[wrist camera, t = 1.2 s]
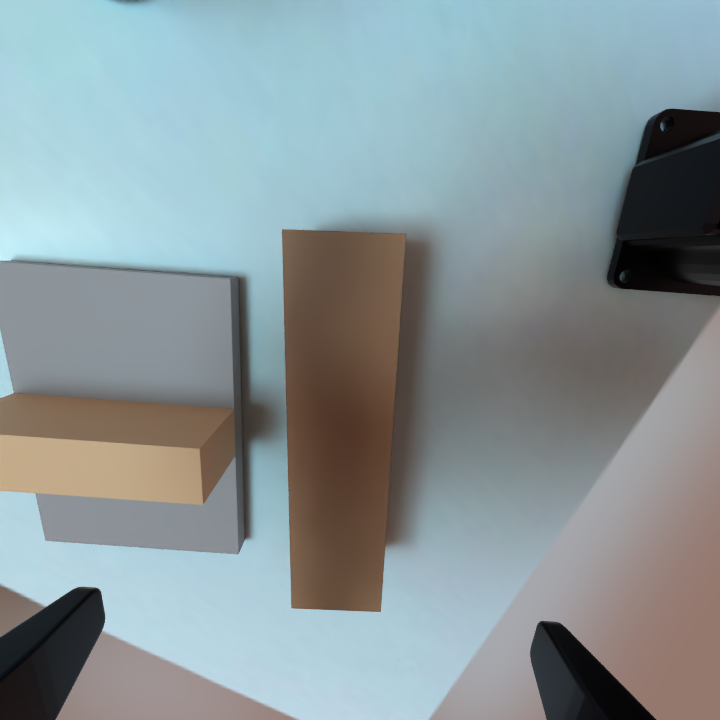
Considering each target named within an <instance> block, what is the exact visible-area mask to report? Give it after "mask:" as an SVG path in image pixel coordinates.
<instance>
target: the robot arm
mask: <svg viewBox="0 0 720 720" xmlns="http://www.w3.org/2000/svg"><path fill="white" fill-rule="evenodd" d="M662 121H664V122H665V124H666V129H665V131H664V132H663V131H662V130H661V128H660V123H661V122H662ZM617 236H618V237H617V240H616V244H615V248H614V252H613V256H612V260H611V264H610V268H609V271H608V276H607V280H608V283H609V284H610V285H611V286H612V287H615V288H621V289H634V290H647V291H661V292H674V293H688V294H701V295H715V296H720V112H708V111H695V110H682V109H666V110H664V111H662V112H660V113H658V114H656V115H654V116H653V117H652V118H651V119H650V120H649V121H648V123H647V125H646V128H645V132H644V136H643V140H642V144H641V147H640V151H639V155H638V159H637V163H636V166H635V167H634V168H633V170H632V174H631V178H630V182H629V186H628V190H627V194H626V198H625V201H624V205H623V209H622V213H621V217H620V221H619V225H618V229H617ZM623 271H624V272H625V278H624V280H622V281H620V274H621V273H622V272H623ZM104 623H105V612H104V606H103V600H102V595H101V591H100V590H99V589H98V588H93V587H78V588H75V589H73V590H71V591H70V592H68V593H67V594H65V595H64V596H62V597H61V598H59V599H58V600H56V601H55V602H53V603H52V604H50V605H49V606H47V607H45V608H44V609H42V610H41V611H39V612H38V613H36V614H35V615H34V616H32V617H30V618H29V619H27V620H26V621H24V622H23V623H21V624H20V625H18V626H17V627H15V628H13V629H12V630H10V631H9V632H7V633H6V634H4V635H3V636H1V637H0V720H55V719H56V718H57V716H58V714H59V712H60V710H61V708H62V706H63V705H64V703H65V701H66V699H67V697H68V695H69V693H70V691H71V689H72V687H73V685H74V683H75V682H76V679H77V678H78V676H79V674H80V672H81V670H82V668H83V666H84V664H85V662H86V660H87V658H88V657H89V655H90V653H91V651H92V649H93V647H94V645H95V643H96V641H97V639H98V637H99V635H100V634H101V632H102V629H103V627H104ZM530 657H531V663H532V667H533V671H534V674H535V678H536V682H537V685H538V689H539V693H540V697H541V700H542V704H543V708H544V711H545V715H546V719H547V720H656V719H655V718H654V717H653V716H652V715H651V714H650V713H649V712H648V711H647V710H646V709H645V708H644V707H643V706H642V704H640V702H638V701H637V699H636V698H635V697H634V696H633V695H632V694H631V693H630V692H629V691H627V689H626V688H625V687H624V686H623V685H622V684H621V683H620V682H619V681H618V680H617V679H616V678H615V677H614V676H613V675H612V674H611V673H610V672H609V671H608V670H607V669H606V668H605V667H604V666H603V665H602V664H601V663H600V662H599V661H598V660H597V659H596V658H595V657H594V656H593V655H592V654H591V653H590V652H589V651H588V650H587V649H586V648H585V647H584V646H583V645H582V644H581V643H580V642H579V641H578V640H577V639H576V638H575V637H574V636H573V635H572V634H571V632H570V631H568V629H567V628H566V627H564V626H563V625H562V624H560V623H558V622H549V621H540V622H539V623H538V625H537V628H536V631H535V635H534V638H533V642H532V646H531V650H530Z"/></svg>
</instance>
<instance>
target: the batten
mask: <svg viewBox="0 0 720 720" xmlns="http://www.w3.org/2000/svg"><path fill="white" fill-rule="evenodd" d="M405 239H406V234H395V233H367V232H339V231H311V230H283V229H282V245H283V285H284V325H285V365H286V405H287V446H288V486H289V526H290V566H291V606H292V608H298V609H322V610H347V611H371V612H381V600H382V585H383V570H384V555H385V540H386V525H387V509H388V494H389V479H390V464H391V449H392V434H393V419H394V404H395V389H396V374H397V359H398V344H399V329H400V314H401V299H402V284H403V269H404V254H405Z"/></svg>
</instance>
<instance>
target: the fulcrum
mask: <svg viewBox="0 0 720 720" xmlns="http://www.w3.org/2000/svg"><path fill="white" fill-rule="evenodd" d="M0 330H1V335H2V339H3V344H4V349H5V353H6V358H7V363H8V367H9V372H10V377H11V381H12V386H13V391H14V393H13V394H11V395H8V396H6V397H3V398H0V491H12V492H26V493H35V494H36V498H37V503H38V508H39V512H40V517H41V522H42V526H43V531H44V536H45V540H46V541H57V542H71V543H85V544H99V545H114V546H128V547H142V548H156V549H171V550H185V551H199V552H213V553H228V554H239V552H240V549H241V547H242V545H243V542H244V540H245V531H244V488H243V446H242V403H241V361H240V318H239V278H237V277H224V276H210V275H196V274H183V273H169V272H156V271H142V270H129V269H115V268H101V267H88V266H74V265H61V264H47V263H33V262H20V261H0Z"/></svg>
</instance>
